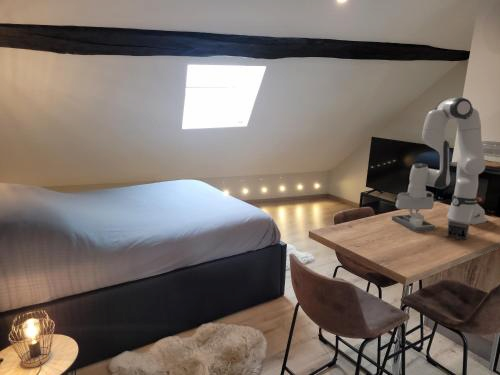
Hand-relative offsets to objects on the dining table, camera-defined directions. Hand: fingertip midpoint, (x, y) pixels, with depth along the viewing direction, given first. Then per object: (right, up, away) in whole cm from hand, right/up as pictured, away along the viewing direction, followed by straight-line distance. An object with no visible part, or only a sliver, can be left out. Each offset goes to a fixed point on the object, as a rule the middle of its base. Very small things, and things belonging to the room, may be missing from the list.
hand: (412, 216), depth 204 cm
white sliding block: (-3, -5, -10) cm, 11 cm away
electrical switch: (+13, -10, -21) cm, 26 cm away
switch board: (-2, -4, -4) cm, 6 cm away
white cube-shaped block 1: (+1, -3, -3) cm, 4 cm away
